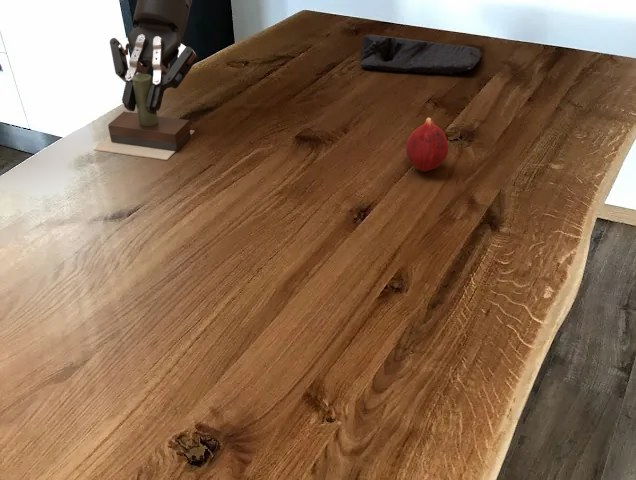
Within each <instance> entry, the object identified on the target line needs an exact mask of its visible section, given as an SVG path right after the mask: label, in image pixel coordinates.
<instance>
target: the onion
mask: <svg viewBox="0 0 636 480" xmlns="http://www.w3.org/2000/svg"><path fill="white" fill-rule="evenodd" d="M405 152H406V156H407V158H408V160H409V161H410V163H411V164H412V165H413V166H414V167H415V169H417V170H419V171H421V172H423V173H427V172H429V171H431V170H434V169H437V168H438V167H440V165H441V164H443V162H444V161H445V160H446V159H447V156H448V153H449V143H448V138H447V136H446V134H445V132H444V131H443V130H442V129H441V128H440V127H439V126H438V125H436V124H435V123H434V121H433V119H432V118H431V117H427V118H426V119H425V122H424V124H421V125H420V126H418V127H417V128H416V129H415V130H413V131H412V132H411V133H410V134H409V137H408V138H407V141H406V146H405Z"/></svg>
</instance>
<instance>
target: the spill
mask: <svg viewBox="0 0 636 480" xmlns="http://www.w3.org/2000/svg"><path fill="white" fill-rule="evenodd" d="M194 133H195V130H193V129H190V134H191V136H192V135H193V134H194ZM93 150H94V151H96V152H103V153H111V154H117V155H126V156H130V157H132V156H133V157H138V158H146V159H154V160H160V161H169V160H170V158H171V157H172V156H173V155H174V154H175V153H177V151H170V150H164V149H157V148H150V147H143V146H136V145H130V144H123V143H116V142H111V138H110V134H109V135H108V136H107V137H106V138H105V139H104V140H103V141H102V142H100V143H99V144H98V145H97V146H96V147H94V148H93Z"/></svg>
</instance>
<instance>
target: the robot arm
mask: <svg viewBox="0 0 636 480" xmlns="http://www.w3.org/2000/svg"><path fill="white" fill-rule="evenodd" d="M192 4H193V0H136V5H135V10H134V15H133V20H132V21H133V22H132V23H133V25H132V28H131V30H130V31H129V33H128V34H127V37H125V38H121V39H119V40H118V39H117V38H116V37H112V38H110V40H109V47H110V50H111V57H112V63H113V68H114V73H115V75H116V76H117V77H119V78H120V79H121V80H122V81H123V82H124V83H125V84H124V89H123V94H122V97H121V102H122V104H123V107H124V108H125V109H126V110H127V111H128V112H135V110H136V108H137V106H136V100H135V94H134V88H133V82H132V77H133V76H134V75H137V74H148V73H147V72H148V70H149V69H150V67H152V69H153V71H152V83H153V85H150V89H149V93H148V98H147V102H146V110H147V111H148V112H149V113H150V114H156V111H157V112H159V111H160V109H161V106H162V102H163V97H164V93H165V91H166V90H168V89H171V88H172V89H177V88H179V86H180V85H181V83H182V82H183V80H184V79H185V78H186V77H187V75H188V73H189V72H190V70H191V69H192V68H193V67H194V65H195V64H196V62H197V61H198V58H199V57H198V55H197V54H196V52H195V51H194V50H193V48H192V47H191V46H186V45H185V43H184V40H183V37H184V35H185V34H186V28H187V23H188V19H189V14H190V11H191V7H192ZM129 49H131V56H130V58H129V61H127V60H128V59H127V56H128V55H129ZM176 57H177V58H176ZM175 58H176V60H175V62H174V63H173V65H172V66H171V62H172V61H173V60H174V59H175ZM128 63H129V64H128Z"/></svg>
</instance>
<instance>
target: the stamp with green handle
mask: <svg viewBox="0 0 636 480" xmlns="http://www.w3.org/2000/svg"><path fill="white" fill-rule="evenodd" d="M132 82H133V88H134V94H135V100H136V112H133V111H122V112H121V113H120V114H119V115H117V117H115V118H114V119H113V120H111V122H109V123H108V124H107V128H108V131H109V135H110V138H111V142H116V143H123V144H130V145H136V146H143V147H150V148H157V149H164V150H170V151H176V152H178V151H179V150H180V149H182V148H183V146H184V145H185V144H186V143H187V142H188V141H189V140H190V139H191V137H192V135H191V134H190V130H191V125H190V120H189V119H182V118H175V117H168V116H160V115H158V111H156V114H150V113H149V112H148V111H147V110H146V102H147V98H148V93H149V89H150V85H153V76H152V75H151V74H149V73H146V74H137V75H134V76H133V77H132Z"/></svg>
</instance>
